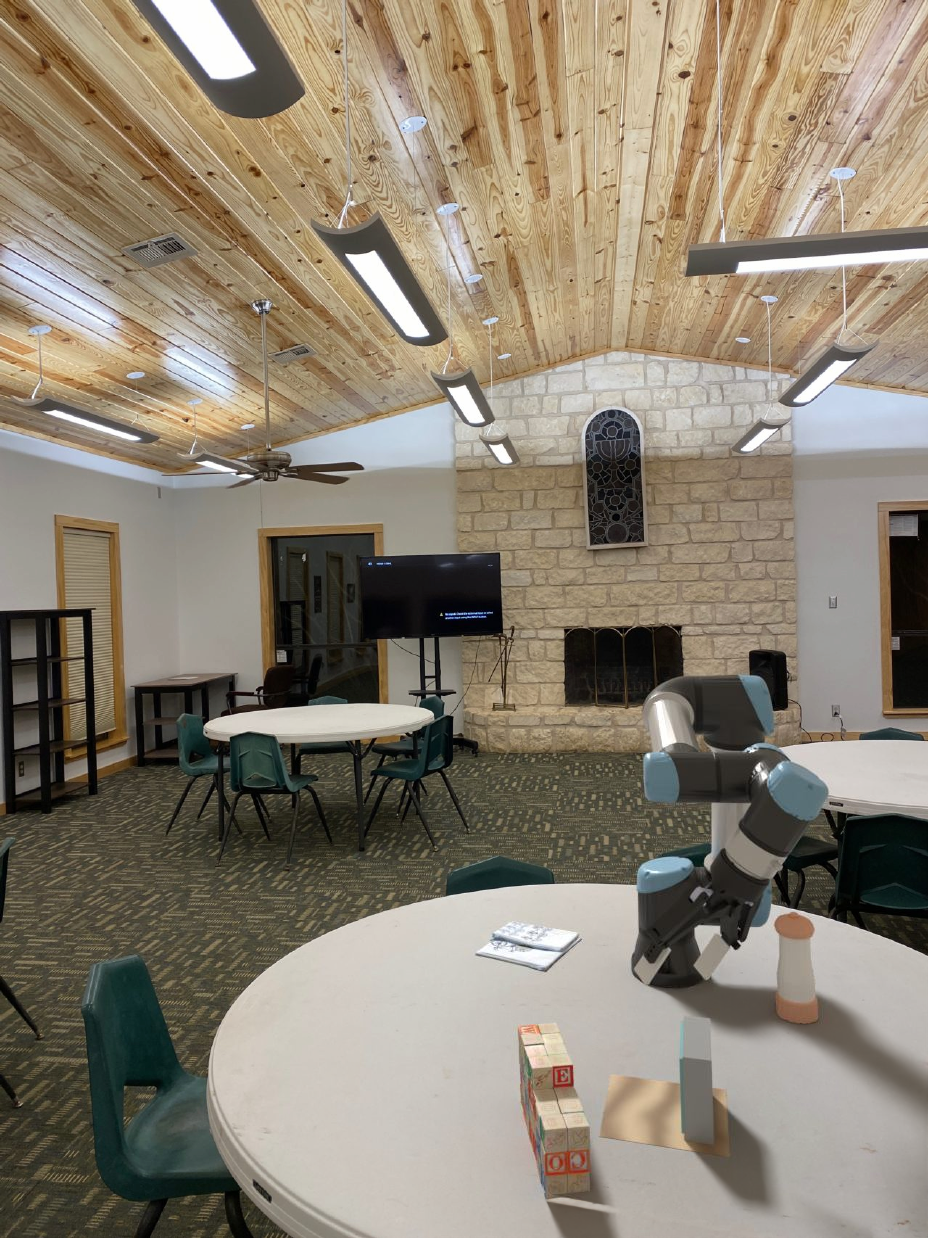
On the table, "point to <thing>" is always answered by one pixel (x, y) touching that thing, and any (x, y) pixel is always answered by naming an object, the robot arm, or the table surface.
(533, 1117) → the stack of blocks
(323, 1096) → the table surface
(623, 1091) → the mat
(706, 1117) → the block
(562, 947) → the folded white cloth
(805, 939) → the salt shaker
